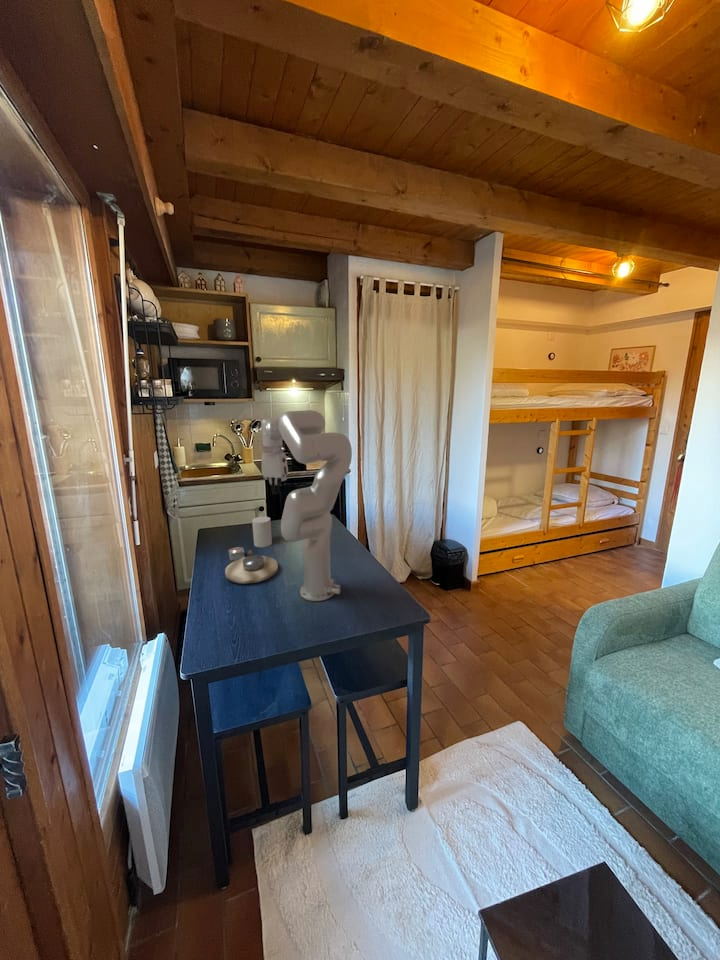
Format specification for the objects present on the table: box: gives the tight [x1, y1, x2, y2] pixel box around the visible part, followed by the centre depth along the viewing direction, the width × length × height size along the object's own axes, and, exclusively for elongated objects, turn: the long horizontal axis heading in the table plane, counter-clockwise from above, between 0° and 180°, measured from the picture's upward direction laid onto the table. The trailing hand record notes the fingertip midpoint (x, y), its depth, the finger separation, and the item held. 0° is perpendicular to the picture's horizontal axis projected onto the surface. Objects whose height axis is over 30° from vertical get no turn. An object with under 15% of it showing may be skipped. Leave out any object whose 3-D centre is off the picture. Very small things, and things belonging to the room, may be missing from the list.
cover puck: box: [243, 554, 264, 572], centre depth 150 cm, size 8×8×3 cm
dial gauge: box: [228, 546, 246, 562], centre depth 164 cm, size 6×5×4 cm
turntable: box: [224, 549, 279, 585], centre depth 150 cm, size 20×20×4 cm
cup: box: [251, 515, 273, 548], centre depth 176 cm, size 8×8×12 cm
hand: (275, 493), depth 155 cm, fingers closed
